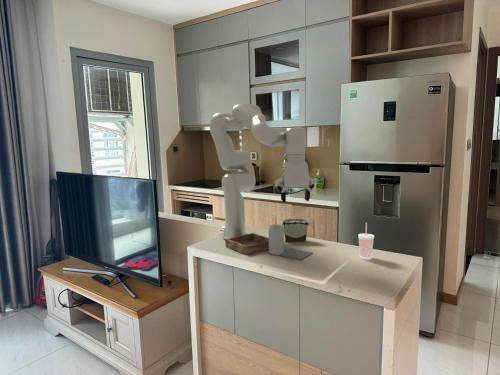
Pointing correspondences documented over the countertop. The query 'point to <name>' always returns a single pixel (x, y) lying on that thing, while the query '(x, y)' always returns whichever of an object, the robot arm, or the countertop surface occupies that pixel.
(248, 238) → the walnut box
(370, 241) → the beverage cup
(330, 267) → the countertop surface
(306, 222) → the food container
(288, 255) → the charcoal mat
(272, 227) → the beverage can
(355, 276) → the countertop surface
